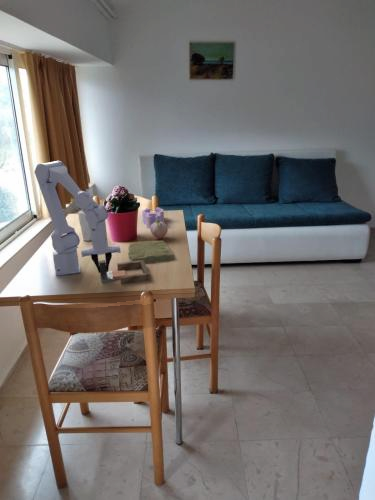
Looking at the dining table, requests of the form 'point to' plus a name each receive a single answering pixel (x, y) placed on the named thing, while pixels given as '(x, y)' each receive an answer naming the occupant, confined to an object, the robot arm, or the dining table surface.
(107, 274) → the grey block
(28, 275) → the dining table surface
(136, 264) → the frame
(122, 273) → the salmon pink panel
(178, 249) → the dining table surface
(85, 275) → the dining table surface
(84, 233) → the drinking glass
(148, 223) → the purple lobed block
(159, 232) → the decorative fruit
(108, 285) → the dining table surface
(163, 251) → the decorative tile
